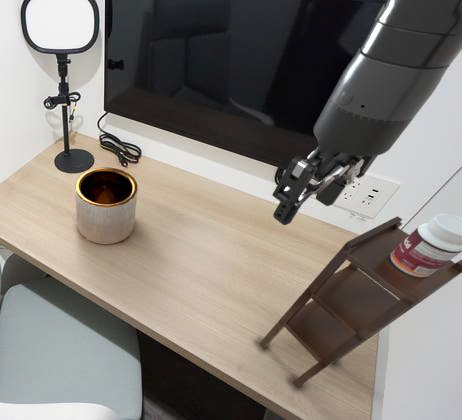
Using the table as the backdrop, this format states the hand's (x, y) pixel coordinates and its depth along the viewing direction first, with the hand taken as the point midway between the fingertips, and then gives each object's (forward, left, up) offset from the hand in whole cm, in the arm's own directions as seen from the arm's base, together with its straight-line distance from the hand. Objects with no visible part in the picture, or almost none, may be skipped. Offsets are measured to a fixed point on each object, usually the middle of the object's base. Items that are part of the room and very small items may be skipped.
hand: (302, 211), depth 44 cm
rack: (-10, -12, -40) cm, 43 cm away
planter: (+43, +8, -40) cm, 59 cm away
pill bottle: (-11, -12, -6) cm, 17 cm away
